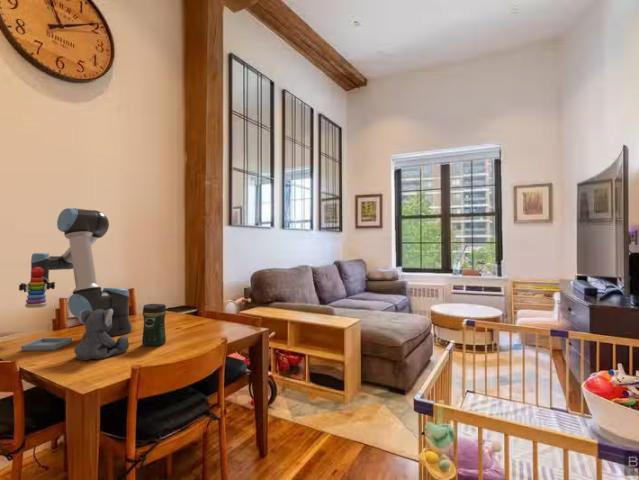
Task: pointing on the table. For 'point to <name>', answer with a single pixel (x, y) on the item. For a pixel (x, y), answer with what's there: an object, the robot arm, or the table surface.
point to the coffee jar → (154, 324)
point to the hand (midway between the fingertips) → (36, 288)
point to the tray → (46, 344)
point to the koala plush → (98, 336)
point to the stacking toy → (36, 289)
